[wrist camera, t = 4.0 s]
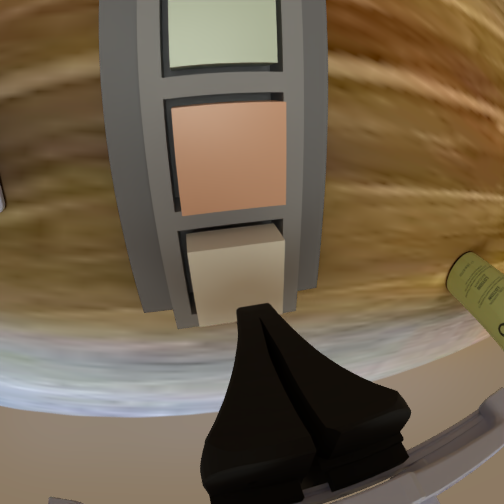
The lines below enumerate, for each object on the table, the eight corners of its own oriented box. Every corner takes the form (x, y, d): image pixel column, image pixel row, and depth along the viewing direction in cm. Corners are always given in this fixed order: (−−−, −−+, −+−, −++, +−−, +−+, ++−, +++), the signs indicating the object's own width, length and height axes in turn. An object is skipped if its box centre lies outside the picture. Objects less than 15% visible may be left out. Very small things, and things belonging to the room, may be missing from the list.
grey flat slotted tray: (144, 303, 20) (142, 335, 18) (112, -89, 7) (103, -112, 4) (311, 279, 23) (328, 306, 20) (309, -91, 9) (330, -111, 6)
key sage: (171, 70, 13) (169, 67, 11) (169, -12, 10) (168, -25, 9) (265, 65, 13) (277, 62, 12) (263, -14, 11) (274, -26, 9)
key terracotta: (181, 200, 15) (182, 216, 13) (172, 106, 12) (171, 108, 11) (273, 190, 16) (285, 204, 14) (272, 100, 13) (286, 101, 12)
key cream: (196, 304, 18) (199, 327, 16) (186, 233, 16) (187, 252, 14) (272, 293, 19) (282, 314, 17) (273, 223, 16) (285, 240, 15)
